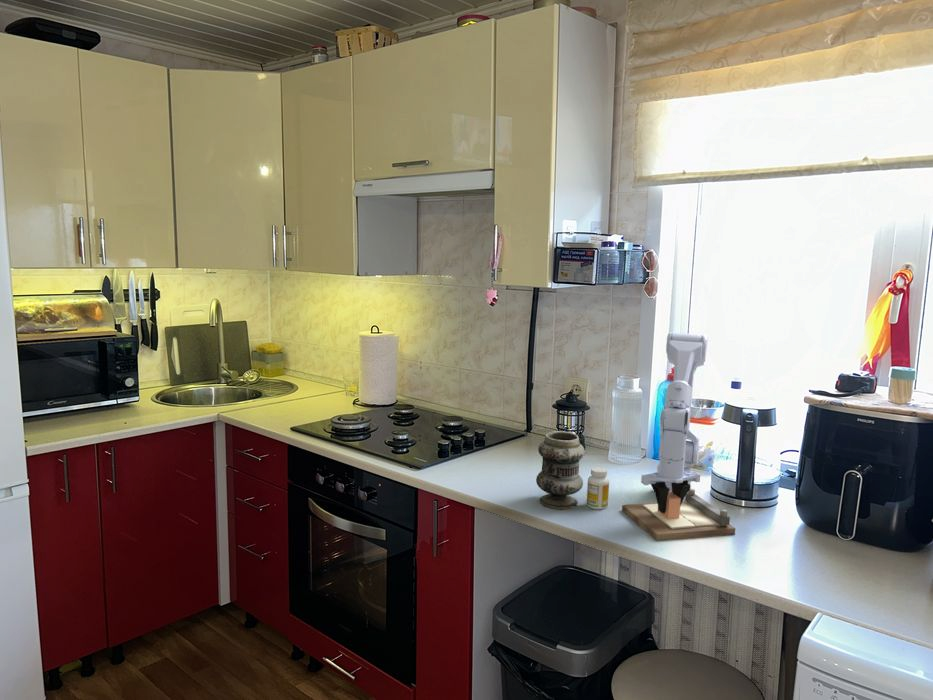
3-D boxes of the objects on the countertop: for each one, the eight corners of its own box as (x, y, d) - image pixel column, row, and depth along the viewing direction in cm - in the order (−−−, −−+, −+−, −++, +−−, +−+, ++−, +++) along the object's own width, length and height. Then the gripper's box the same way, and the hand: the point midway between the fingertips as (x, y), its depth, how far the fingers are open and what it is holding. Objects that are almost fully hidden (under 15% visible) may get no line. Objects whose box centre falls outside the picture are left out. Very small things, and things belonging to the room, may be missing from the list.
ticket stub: (643, 506, 172) (644, 485, 171) (664, 504, 173) (666, 484, 172) (671, 528, 158) (673, 506, 157) (695, 527, 159) (696, 505, 159)
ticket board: (621, 510, 173) (623, 491, 172) (693, 505, 177) (694, 486, 176) (657, 540, 155) (658, 519, 155) (734, 534, 160) (736, 513, 159)
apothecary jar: (570, 515, 169) (573, 444, 166) (527, 504, 175) (529, 436, 173) (589, 500, 179) (592, 433, 176) (547, 490, 185) (550, 426, 183)
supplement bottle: (605, 502, 178) (607, 466, 177) (610, 510, 173) (612, 473, 171) (584, 501, 178) (586, 466, 177) (588, 509, 173) (590, 472, 171)
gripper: (652, 463, 158) (649, 519, 160) (708, 460, 161) (704, 515, 163) (638, 454, 165) (635, 508, 167) (692, 451, 168) (688, 504, 170)
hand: (668, 511), depth 165 cm, fingers closed on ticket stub, 3 cm apart
